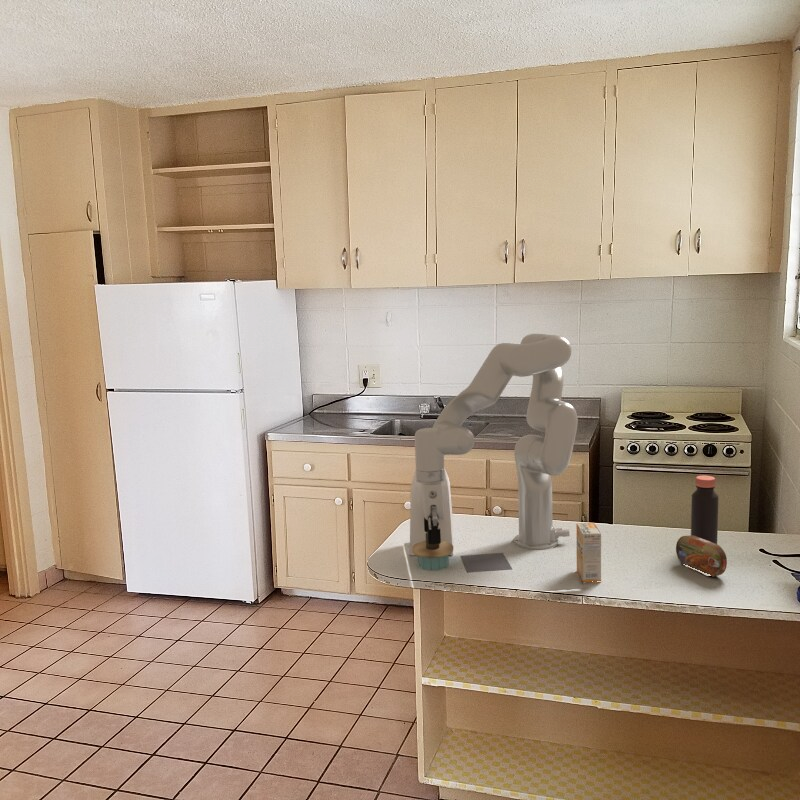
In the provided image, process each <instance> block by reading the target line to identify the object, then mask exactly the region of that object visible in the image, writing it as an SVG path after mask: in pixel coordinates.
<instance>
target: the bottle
mask: <svg viewBox="0 0 800 800" xmlns="http://www.w3.org/2000/svg"><path fill="white" fill-rule="evenodd" d="M715 486H716V478H715V477H714V476H712V475H711V476H710V475H698V476H696V477H695V487H696V490H695V491H694V492H693V493H692V494H691V505H690V506H691V509H690V510H691V514H690V517H691V519H690V535H693V536H697V537H699V538H702V539H704V540H707V541H710V542H712V543H715V544H717V545H718V531H719V530H718V527H719V495H718V494H717V493H716V491H714V489H715V488H716V487H715Z"/></svg>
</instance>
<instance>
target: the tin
mask: <svg viewBox="0 0 800 800" xmlns="http://www.w3.org/2000/svg"><path fill="white" fill-rule="evenodd" d="M675 546H676V547H675V551H676V552H675V553H676V556H677V559H678V561H679V563H680V564H681V565H682V564H685V565H688V566H690V567H692V568H695V569H697V570H700V571H702V572H704V573H707V574H710V575H711V576H712V577H711V578H714V577H719V576H721V575H723V574H724V573H725V572H726V570H727V564H728V560H727V554H726V552H725V551H724V549H723V548H722V546H721V545H719V544H718V543H717V544H715V543H712V542H710V541H707V540H704V539H702V538H699V537H697V536H693V535H691V534H690V535H682V536H681V537H680V538H678V540H677V542H676V545H675Z"/></svg>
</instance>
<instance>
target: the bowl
mask: <svg viewBox="0 0 800 800" xmlns="http://www.w3.org/2000/svg"><path fill="white" fill-rule="evenodd" d="M449 556H450V555H446V556H443V557H436V558H427V557H421V556H417V560H418V561H417V563H418V565H417V566H418V567H419V568H420V569H423V570H425V571H426V570H427V571H440V570H443V569H446V568H447V567H448V566H450V562H449V561H450V559H449Z"/></svg>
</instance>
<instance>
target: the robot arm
mask: <svg viewBox="0 0 800 800" xmlns="http://www.w3.org/2000/svg"><path fill="white" fill-rule="evenodd" d="M571 356H572V346H571V343H570V341H569V340H568V339H566V338H565V337H564V336H561V335H556V334H555V335H554V334H545V333H544V334H543V333H529V334H527V335H524V337H523V338H522V339H521V341H520V344H518V343H510V342H501V343H498V344H495V346H494V347H493V348H492V349H491V351H490V352H489V354H488V355H487V357H486V358H485V360H484V362H483V363H482V365H481V366H480V368H479V369H478V371H477V372H476V374H475V376H474V378H473V379H472V381H471V382H470V384H469V385H468V386H467V387H466V388H465V389H464V390H462V391H461V392H459V393H458V394H457V395H456V396H455V397H454V398H452V399H451V400H450V401H449V402H448V403H447V404H446V405H445V406H444V408H443V409H442V411H441V412H440V414H439V415H438V416H437V419H436V420H435V422H434V424H433V426H432V427H424V428H420V429H418V430H416V431H415V433H414V452H415V453H414V455H415V470H416V481H417V482H418V483H421V500H422V509H423V513H424V516H425V517H424V531H425V532H428V543H429V544H440V543H441V535H440V525H439V518H440V519H441V520H443V519H444V512H443V496H442V485H441V482H444V481H445V475H444V468H445V456H462V455H466V454H467V453H470V451H471V450H472V449H473V448H474V445H475V444H476V443H475V441H476V440H475V439H476V438H475V435H474V433H473V432H472V431H471V430H470V429H469V428H467V427H464V426H462V425H463V424H464V422H465V421H466V420H467V419H469V417H470V416H471V415H473V414H474V413H476V412H479V411H481V410H484V409H487V408H488V407H491V406H493V405H495V403H497V402H498V400H499V398H500V397H501V395H502V394H503V391H505V389H506V387H507V385H508V384H509V383H510V381H511V380H512V377H513V376H514V377H521V378H523V377H529V376H532V384H531V390H530V391H531V392H530V395H529V401H528V405H527V411H526V418H525V420H526V422H527V425H528V426H530V428H531V429H533V430H535V431H540V432H542V433H544V436H542V435H538V434H526V435H523V436H521V437H520V438H519V439H518V440H517V442H516V443H515V446H514V451H513V453H514V454H513V457H514V463H515V466H516V471H517V487H518V490H517V494H518V496H517V498H518V500H517V501H518V534H517V535H515V536H514V537H513V543H514V545H515V546H517V547H519V548H522V549H526V550H536V551H537V550H539V551H540V550H548V549H552V548H556V547H557V546H558V545H559V539H558V538H559V537H560V538H561V537H566V538H567V537H570V530H569V529H563V528H562V527H560V528H559V527H558V528H555V527H554V526H553V482H552V476H553V477H555V476H560V475H561V474H563V473H564V472H565V471H566V470H567V468H568V467H569V465H570V462H571V459H572V455H573V450H574V445H575V441H576V435H577V431H578V423H579V422H578V421H579V420H578V414H577V411H576V409H575V407H574V406H573V405H572V404H571V403H568V402H567V401H563V400H562V395H563V389H564V374H563V370H562V367H563V366H564V365H565V364H567V363H568V362H569V360H570V358H571Z"/></svg>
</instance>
